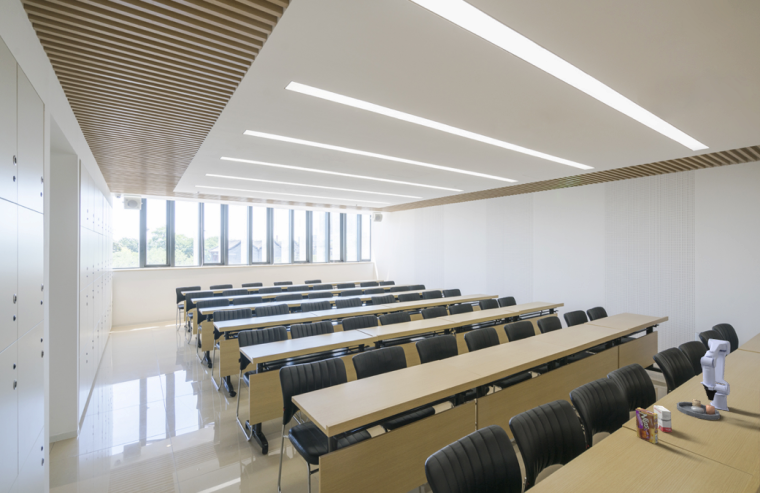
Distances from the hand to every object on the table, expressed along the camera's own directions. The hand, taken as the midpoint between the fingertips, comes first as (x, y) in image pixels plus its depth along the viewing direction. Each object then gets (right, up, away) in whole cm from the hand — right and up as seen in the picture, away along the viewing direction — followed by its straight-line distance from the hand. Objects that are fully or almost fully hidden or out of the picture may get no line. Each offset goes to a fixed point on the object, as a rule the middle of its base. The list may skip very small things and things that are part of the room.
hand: (709, 398), depth 215 cm
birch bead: (-1, -10, +8) cm, 13 cm away
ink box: (-44, -11, -17) cm, 48 cm away
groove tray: (-5, -11, +3) cm, 12 cm away
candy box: (-62, -10, -28) cm, 68 cm away
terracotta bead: (0, -10, 0) cm, 10 cm away
